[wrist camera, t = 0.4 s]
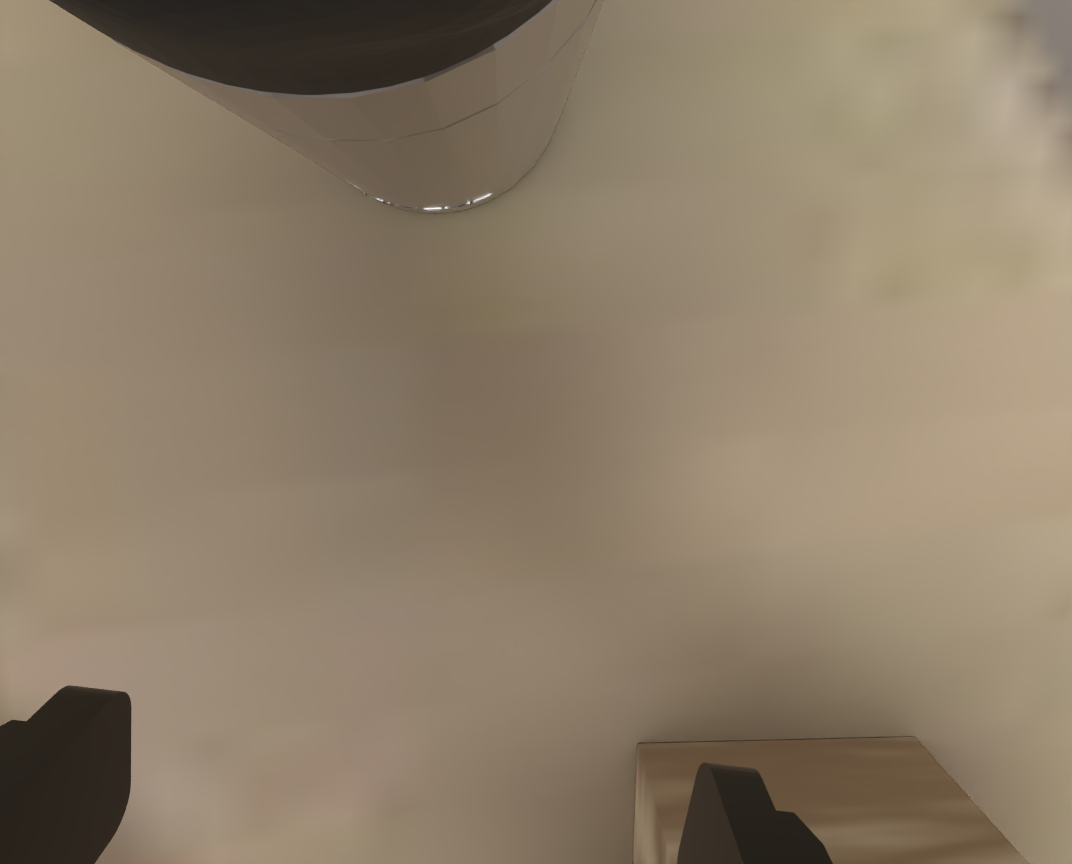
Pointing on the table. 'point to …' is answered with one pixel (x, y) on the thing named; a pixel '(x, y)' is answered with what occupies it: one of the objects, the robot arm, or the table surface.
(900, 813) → the pedestal
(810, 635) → the table surface
